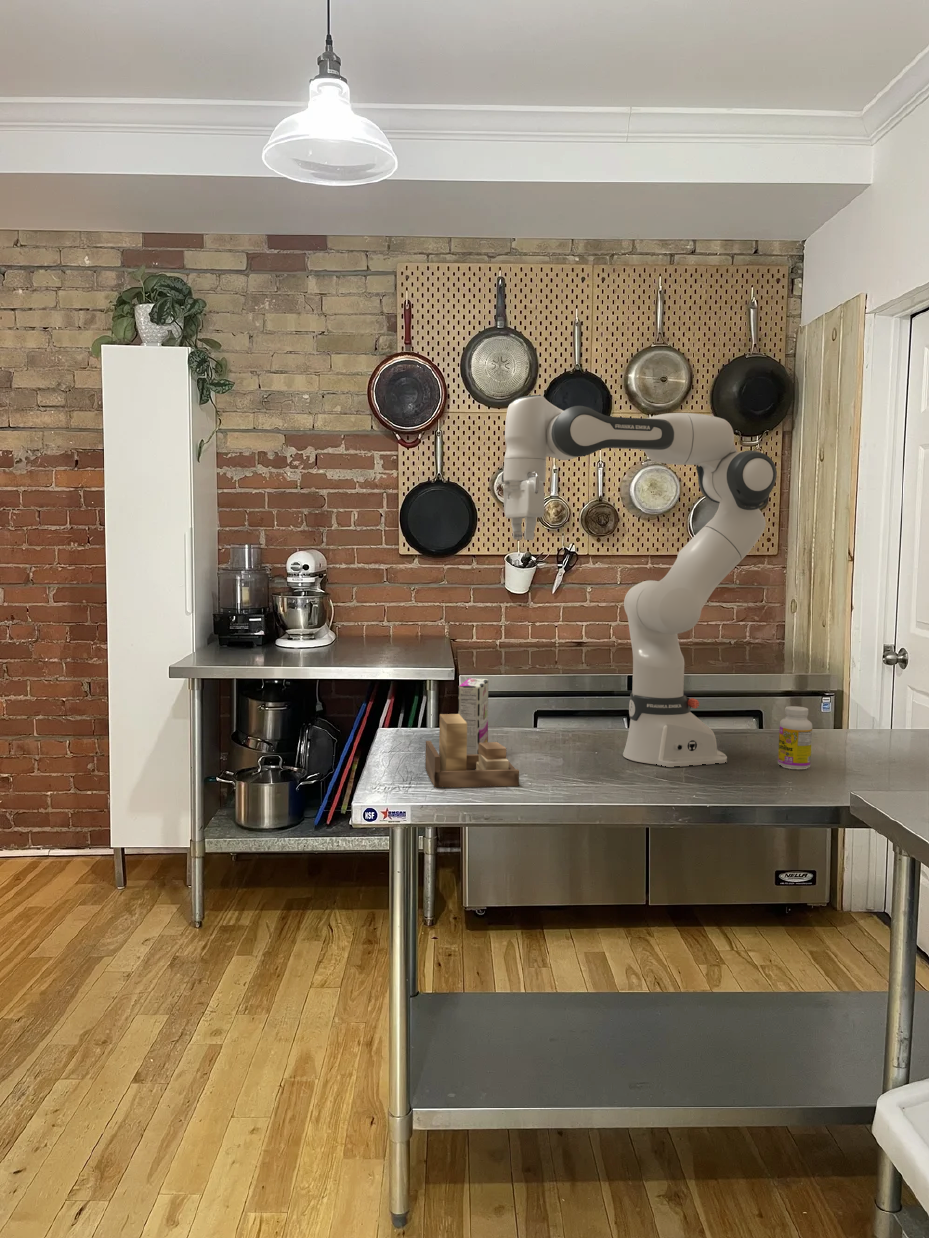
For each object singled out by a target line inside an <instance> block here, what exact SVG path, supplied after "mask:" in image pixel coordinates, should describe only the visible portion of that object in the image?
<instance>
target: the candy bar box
mask: <svg viewBox="0 0 929 1238" xmlns="http://www.w3.org/2000/svg"><path fill="white" fill-rule="evenodd" d="M457 690H458V695H457V696H458V698H457V699H458V702H457V703H458V707H457V708H458V713H457V714H460V715H461V717H462V718H463V719H464V720H465V721H466V723H467V754H479V753H478V743H485V742H489V678H488V679H487V678H479V677H478V678H475V677H473V678H471V677H470V678H467V679H466V680H465V681H463V682H461V684H460V685H458V689H457Z"/></svg>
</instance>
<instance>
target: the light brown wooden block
mask: <svg viewBox="0 0 929 1238" xmlns="http://www.w3.org/2000/svg"><path fill="white" fill-rule="evenodd" d="M438 732H439V735H438V736H439V739H438V740H439V743H438V745H439V747H438V754H439V756H440V771H462V770H466V761H467V723H466V721H465V720H464V719H463V718H462V717H461V715H460V714H458V713H449V714H448V713H440V714H439V731H438Z"/></svg>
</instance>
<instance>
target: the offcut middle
mask: <svg viewBox="0 0 929 1238" xmlns="http://www.w3.org/2000/svg"><path fill="white" fill-rule="evenodd" d="M509 762H510V761H509V759H508V758H507V757H506V758H502V759H486V758H485V757H483V756H482V755H481V754H480V753H479V766H480V767H481V768H482V770H508V769H509Z"/></svg>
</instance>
